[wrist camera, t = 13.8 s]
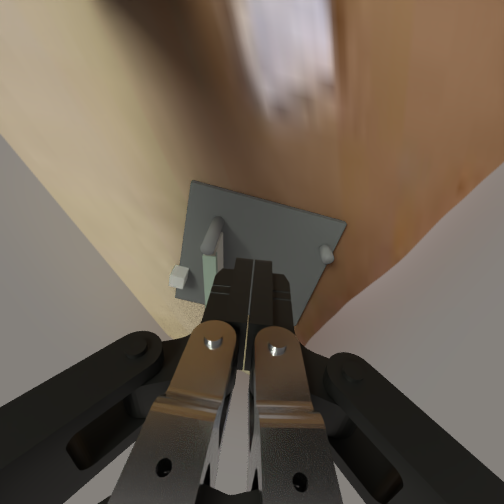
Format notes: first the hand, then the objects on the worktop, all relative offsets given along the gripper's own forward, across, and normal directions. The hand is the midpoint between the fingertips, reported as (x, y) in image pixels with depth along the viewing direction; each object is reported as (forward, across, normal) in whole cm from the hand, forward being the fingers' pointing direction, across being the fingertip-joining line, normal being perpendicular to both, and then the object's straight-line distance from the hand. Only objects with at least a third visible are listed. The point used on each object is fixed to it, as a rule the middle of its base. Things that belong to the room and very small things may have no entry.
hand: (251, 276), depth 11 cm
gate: (+28, +6, +20) cm, 34 cm away
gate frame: (+29, +1, +19) cm, 34 cm away
